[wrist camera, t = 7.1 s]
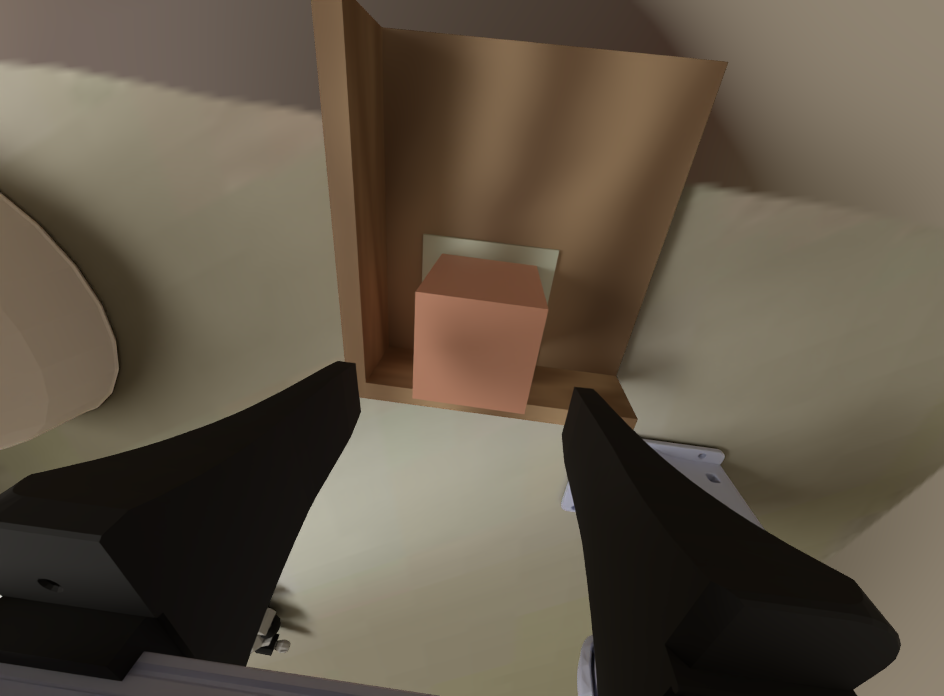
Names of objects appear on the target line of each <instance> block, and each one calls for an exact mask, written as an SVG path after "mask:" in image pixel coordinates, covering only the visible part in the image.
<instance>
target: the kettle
mask: <svg viewBox="0 0 944 696" xmlns="http://www.w3.org/2000/svg"><path fill="white" fill-rule="evenodd" d="M118 371H119V363H118V354H117V345H116V338H115V335H114V333H113V330H112V328H111V325H110V323H109V321H108V318H107V316H106V313H105V311H104V308H103V306H102V304H101V302H100V301H99V299H98V298H97V296H96V294H95V293H94V291H93V290H92V288H91V287H90V285H89V284H88V282H87V281H86V279H85V278H84V276H83V275H82V273H81V272H80V270H79V269H78V267H77V266H76V264H75V263H74V262H73V261H72V260H71V259H70V258H69V257H68V256H67V254H66V253H65V252H64V251H63V250H62V249H61V248H60V247H59V246H58V245H57V243H56V242H55V241H54V240H53V239H52V238H51V237H50V236H49V235H48V233H47V232H46V231H45V230H44V229H43V228H42V227H41V226H40V225H39V224H38V223H37V222H36V221H34V220H33V219H32V218H31V217H30V216H28V215H27V214H26V213H25V212H24V211H22V210H21V209H20V208H19V207H18V206H16V205H15V204H14V203H13V202H12V201H10V200H9V199H8V198H7V197H6V196H4V195H3V194H2V193H1V192H0V450H1V449H5V448H8V447H11V446H14V445H17V444H20V443H22V442H25V441H28V440H31V439H33V438H35V437H37V436H39V435H41V434H43V433H45V432H47V431H49V430H51V429H53V428H55V427H57V426H59V425H61V424H63V423H65V422H67V421H69V420H71V419H73V418H75V417H77V416H79V415H81V414H83V413H85V412H87V411H90V410H93V409H96V408H98V407H99V406H100V405H101V404H102V403H103V402H104V401H105V400H106V399H107V398H108V397H109V396H110V395H111V393H112V392H113V389H114V385H115V382H116V378H117V375H118Z"/></svg>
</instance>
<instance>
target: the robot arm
mask: <svg viewBox="0 0 944 696" xmlns="http://www.w3.org/2000/svg"><path fill="white" fill-rule="evenodd" d="M360 413H361V408H360V399H359V390H358V380H357V371H356V363H351V362H342V361H337V362H335V363H333V364H331V365H329V366H327V367H325V368H323V369H321V370H319V371H318V372H316V373H314V374H312V375H310V376H309V377H307V378H305V379H303V380H301V381H300V382H298V383H296V384H294V385H292V386H290V387H289V388H287V389H285V390H283V391H281V392H279V393H277V394H275V395H273V396H271V397H269V398H267V399H265V400H263V401H261V402H259V403H257V404H255V405H253V406H251V407H249V408H247V409H245V410H243V411H240V412H238V413H236V414H234V415H231V416H229V417H226V418H224V419H221V420H219V421H217V422H214V423H212V424H209V425H206V426H204V427H201V428H198V429H195V430H192V431H189V432H187V433H184V434H181V435H178V436H175V437H172V438H169V439H167V440H163V441H160V442H157V443H154V444H150V445H147V446H144V447H140V448H137V449H133V450H130V451H126V452H123V453H119V454H116V455H112V456H108V457H104V458H100V459H96V460H92V461H88V462H84V463H79V464H75V465H71V466H66V467H62V468H58V469H53V470H49V471H45V472H40V473H35V474H31V475H29V476H27V477H26V478H24V479H22V480H21V481H19V482H18V483H17V484H15V485H14V486H12V487H11V488H9V489H8V490H6V491H5V492H3V493H2V494H0V595H1V596H2V597H1V598H0V696H438V695H431V694H424V693H418V692H411V691H404V690H398V689H391V688H384V687H378V686H371V685H364V684H358V683H351V682H345V681H338V680H331V679H325V678H318V677H311V676H305V675H298V674H291V673H285V672H278V671H271V670H265V669H258V668H252V667H246V665H247V662H248V659H249V656H250V653H251V651H252V648H253V645H254V643H255V640H256V637H257V634H258V632H259V629H260V626H261V624H262V621H263V618H264V615H265V613H266V610H267V608H268V605H269V603H270V600H271V598H272V595H273V593H274V590H275V588H276V585H277V583H278V580H279V578H280V575H281V573H282V570H283V568H284V566H285V563H286V561H287V559H288V556H289V554H290V552H291V549H292V547H293V545H294V542H295V540H296V538H297V536H298V533H299V531H300V529H301V527H302V525H303V522H304V520H305V518H306V516H307V514H308V511H309V509H310V507H311V506H312V504H313V502H314V500H315V498H316V496H317V494H318V493H319V491H320V489H321V487H322V486H323V484H324V482H325V481H326V479H327V477H328V476H329V474H330V472H331V470H332V469H333V467H334V465H335V464H336V462H337V460H338V458H339V457H340V455H341V453H342V451H343V450H344V448H345V446H346V444H347V443H348V441H349V439H350V437H351V435H352V433H353V430H354V428H355V425H356V423H357V420H358V418H359V415H360ZM562 442H563V453H564V463H565V468H566V472H567V477H568V483H567V486H566V489H565V492H564V495H563V498H562V501H561V507H562V509H564V510H566V511H572V512H576V516H577V520H578V524H579V529H580V534H581V539H582V545H583V552H584V560H585V568H586V576H587V584H588V593H589V602H590V611H591V621H592V632H593V635H591V636H589V637H587V638H586V639H585V641H584V643H583V646H582V648H581V654H580V659H579V664H578V672H577V686H578V696H857V695H856V694H855V692H854V690H853V689H855V688H856V687H858V686H859V685H861V684H862V683H864V682H865V681H867V680H868V679H870V678H871V677H873V676H874V675H876V674H877V673H879V672H880V671H882V670H883V669H885V668H886V667H887V666H888V665H890V664H891V663H892V662H893V661H894V660H895V659H896V657H897V655H898V653H899V650H900V646H901V643H900V639H899V635H898V633H897V632H896V631H895V630H894V628H893V627H892V626H891V625H890V624H889V622H888V621H887V620H886V619H885V618H884V616H883V615H882V614H881V613H880V611H879V610H878V609H877V608H876V606H875V605H874V604H873V603H872V602H871V600H870V599H869V598H868V597H867V595H866V594H865V593H864V592H863V591H862V589H861V588H860V587H859V586H858V584H857V583H856V582H855V581H854V580H853V579H851V578H850V577H848V576H846V575H844V574H842V573H840V572H838V571H837V570H834V569H833V568H831V567H829V566H827V565H826V564H824V563H822V562H820V561H818V560H816V559H814V558H813V557H811V556H809V555H807V554H805V553H803V552H801V551H800V550H798V549H796V548H794V547H792V546H791V545H789V544H787V543H785V542H784V541H782V540H780V539H779V538H777V537H775V536H774V535H772V534H770V533H769V532H767V531H766V530H765V529H764V528H763V526H762V525H761V523H760V522H759V520H758V519H757V518H756V516H755V515H754V513H753V512H752V510H751V509H750V507H749V506H748V505H747V503H746V502H745V500H744V499H743V497H742V496H741V494H740V493H739V492H738V490H737V489H736V487H735V486H734V484H733V483H732V481H731V480H730V479H729V477H728V476H727V474H726V473H725V471H724V470H723V468H722V467H721V466H720V464H721V463H722V461H723V460H724V458H725V455H724V453H723V452H722V451H721V450H719V449H714V448H707V447H699V446H692V445H684V444H677V443H670V442H662V441H655V440H648V439H642V438H641V437H640V436H639V435H638V434H637V433H636V432H635V431H634V430H633V429H632V428H631V427H630V426H629V425H628V424H627V423H626V422H625V421H624V420H623V419H622V418H621V417H620V416H619V415H618V414H617V413H616V412H615V411H614V410H613V409H612V408H611V407H610V405H609V404H608V403H607V402H606V401H605V400H604V399H603V398H602V397H601V396H600V395H599V394H598V393H597V392H596V391H595V390H594V389H591V388H582V387H574V390H573V394H572V397H571V401H570V405H569V409H568V413H567V417H566V421H565V425H564V428H563V432H562ZM701 453H702V454H701ZM699 454H700V455H699Z"/></svg>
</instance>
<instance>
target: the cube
mask: <svg viewBox="0 0 944 696" xmlns="http://www.w3.org/2000/svg"><path fill="white" fill-rule="evenodd" d="M548 310H549V309H548V306H547V302H546V298H545V295H544V291H543V287H542V283H541V280H540V276H539V272H538V269H537V266H534V265H526V264H519V263H511V262H503V261H495V260H488V259H480V258H472V257H465V256H457V255H449V254H441V256H440V257H439V259H438V260H437V261H436V263H435V264H434V266H433V267H432V269H431V270H430V272H429V273H428V274H427V276H426V277H425V279H424V280H423V282H422V283H421V284H420V286H419V287H418V289H417V290H416V292H415V325H414V360H413V395H412V398H413V399H420V400H427V401H434V402H441V403H448V404H455V405H462V406H469V407H476V408H483V409H490V410H497V411H504V412H511V413H518V414H525V410H526V405H527V401H528V397H529V392H530V388H531V384H532V379H533V375H534V370H535V366H536V362H537V357H538V353H539V349H540V344H541V340H542V336H543V331H544V327H545V323H546V318H547V314H548Z"/></svg>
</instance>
